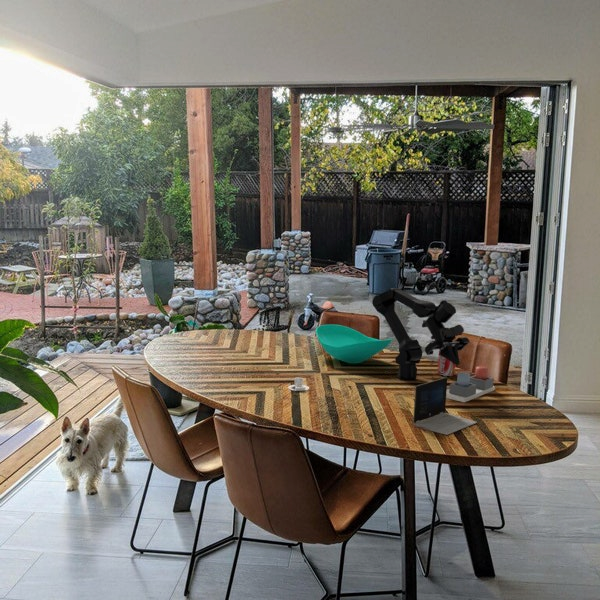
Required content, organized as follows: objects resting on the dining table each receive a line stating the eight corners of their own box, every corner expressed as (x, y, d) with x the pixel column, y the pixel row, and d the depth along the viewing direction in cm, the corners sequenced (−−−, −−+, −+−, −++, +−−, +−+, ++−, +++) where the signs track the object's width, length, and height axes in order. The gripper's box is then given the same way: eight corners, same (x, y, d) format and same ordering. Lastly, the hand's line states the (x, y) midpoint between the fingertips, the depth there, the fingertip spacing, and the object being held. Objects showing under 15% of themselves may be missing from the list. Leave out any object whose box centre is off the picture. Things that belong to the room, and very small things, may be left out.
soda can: (454, 377, 264) (457, 349, 262) (437, 376, 266) (439, 347, 264) (454, 373, 271) (456, 345, 269) (437, 372, 272) (439, 344, 271)
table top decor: (406, 367, 278) (408, 337, 276) (358, 375, 261) (360, 343, 260) (346, 349, 309) (347, 322, 307) (299, 355, 293) (300, 327, 291)
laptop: (446, 436, 196) (449, 395, 194) (412, 425, 204) (414, 385, 202) (477, 424, 208) (480, 385, 206) (443, 414, 217) (446, 376, 215)
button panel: (439, 396, 237) (440, 383, 236) (470, 384, 255) (471, 372, 254) (464, 402, 230) (465, 388, 230) (494, 390, 248) (495, 377, 247)
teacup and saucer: (304, 393, 235) (304, 382, 235) (283, 390, 238) (284, 380, 237) (312, 387, 243) (312, 377, 243) (292, 385, 246) (292, 374, 246)
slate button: (454, 387, 236) (455, 373, 235) (460, 385, 239) (461, 371, 238) (465, 389, 233) (466, 375, 232) (471, 387, 236) (472, 373, 235)
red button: (472, 380, 246) (473, 367, 245) (478, 378, 249) (479, 365, 248) (483, 383, 243) (484, 369, 242) (488, 381, 246) (489, 367, 246)
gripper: (432, 319, 234) (453, 355, 226) (467, 315, 245) (488, 350, 237) (415, 336, 242) (435, 372, 234) (450, 333, 252) (470, 366, 244)
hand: (458, 364), depth 237 cm, fingers closed
